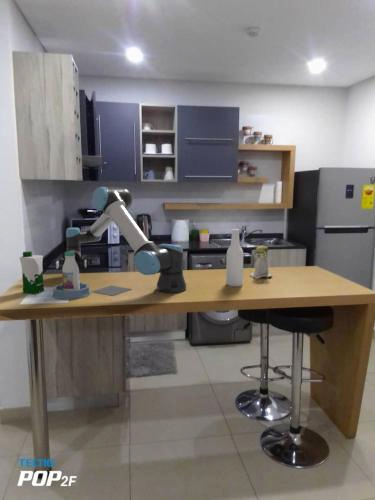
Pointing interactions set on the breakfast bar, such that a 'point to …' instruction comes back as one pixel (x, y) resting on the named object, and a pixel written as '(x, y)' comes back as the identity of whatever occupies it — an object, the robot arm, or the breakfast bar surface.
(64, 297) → the bowl
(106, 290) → the mat
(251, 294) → the breakfast bar surface
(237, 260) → the alcohol
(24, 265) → the milk carton
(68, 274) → the milk bottle
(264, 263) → the figurine
